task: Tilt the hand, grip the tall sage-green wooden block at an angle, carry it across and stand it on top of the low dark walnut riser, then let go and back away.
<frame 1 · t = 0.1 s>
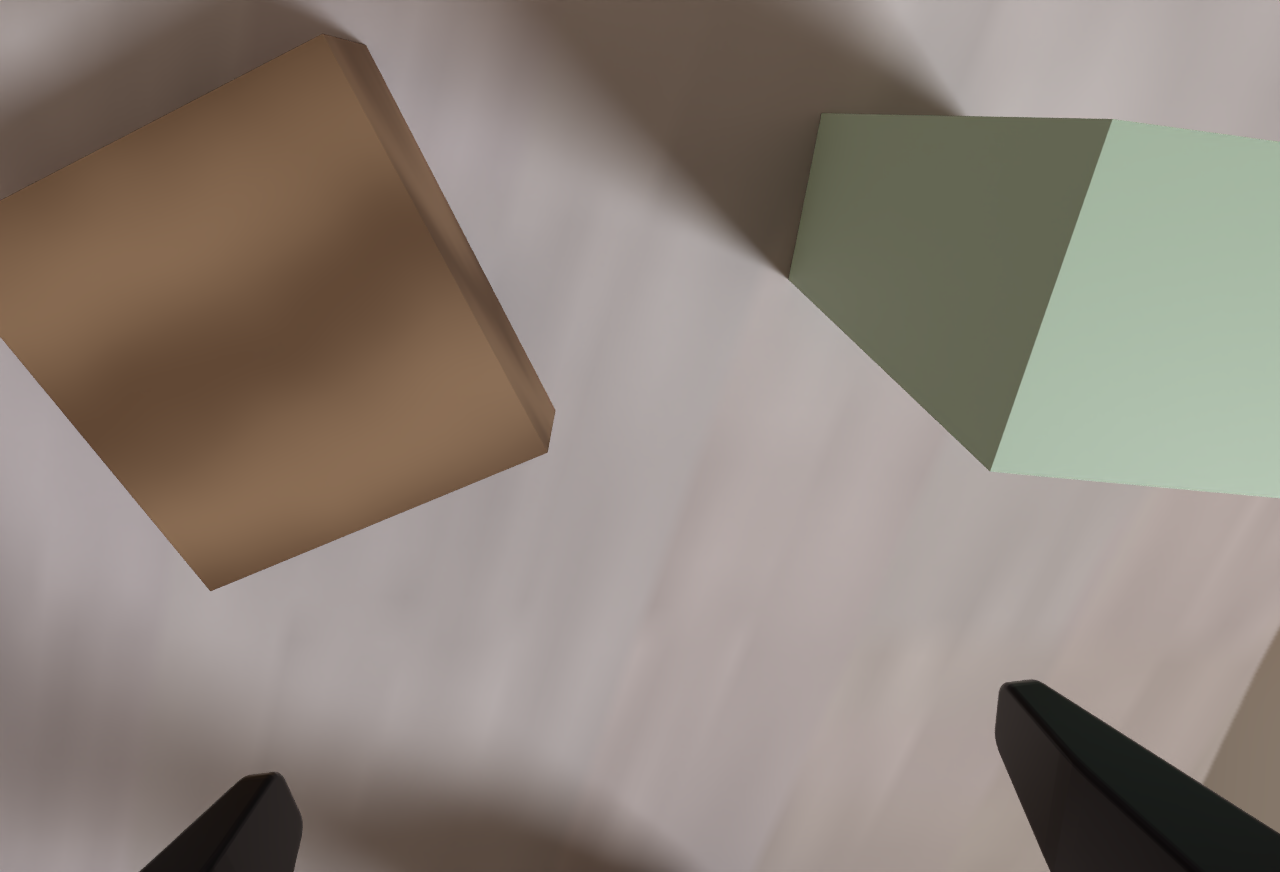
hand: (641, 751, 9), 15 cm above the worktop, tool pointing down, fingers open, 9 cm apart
green block: (881, 209, 21), on the worktop
walnut riser: (309, 319, 22), on the worktop
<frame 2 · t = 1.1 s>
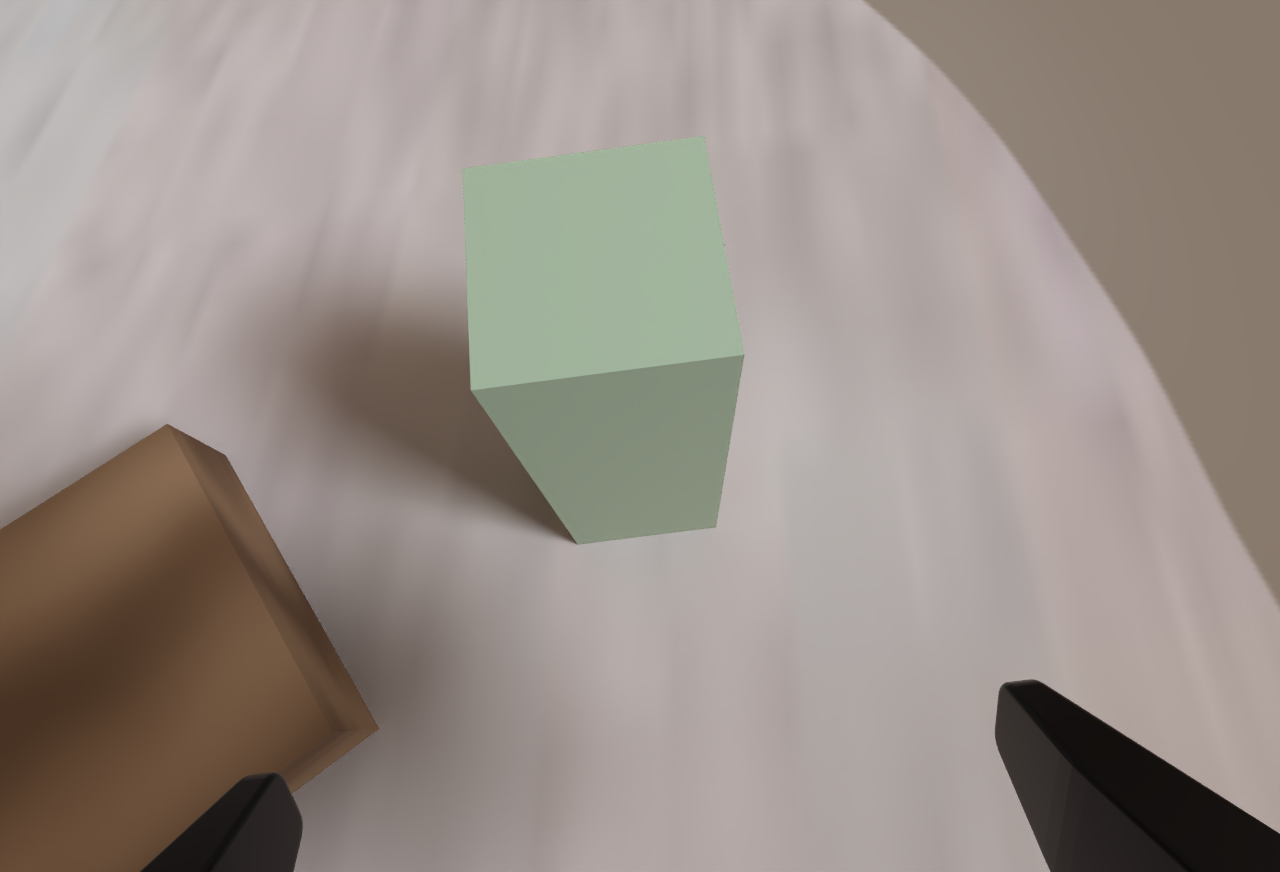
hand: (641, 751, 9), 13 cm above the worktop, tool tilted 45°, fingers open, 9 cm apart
green block: (638, 469, 24), on the worktop
walnut riser: (152, 689, 23), on the worktop
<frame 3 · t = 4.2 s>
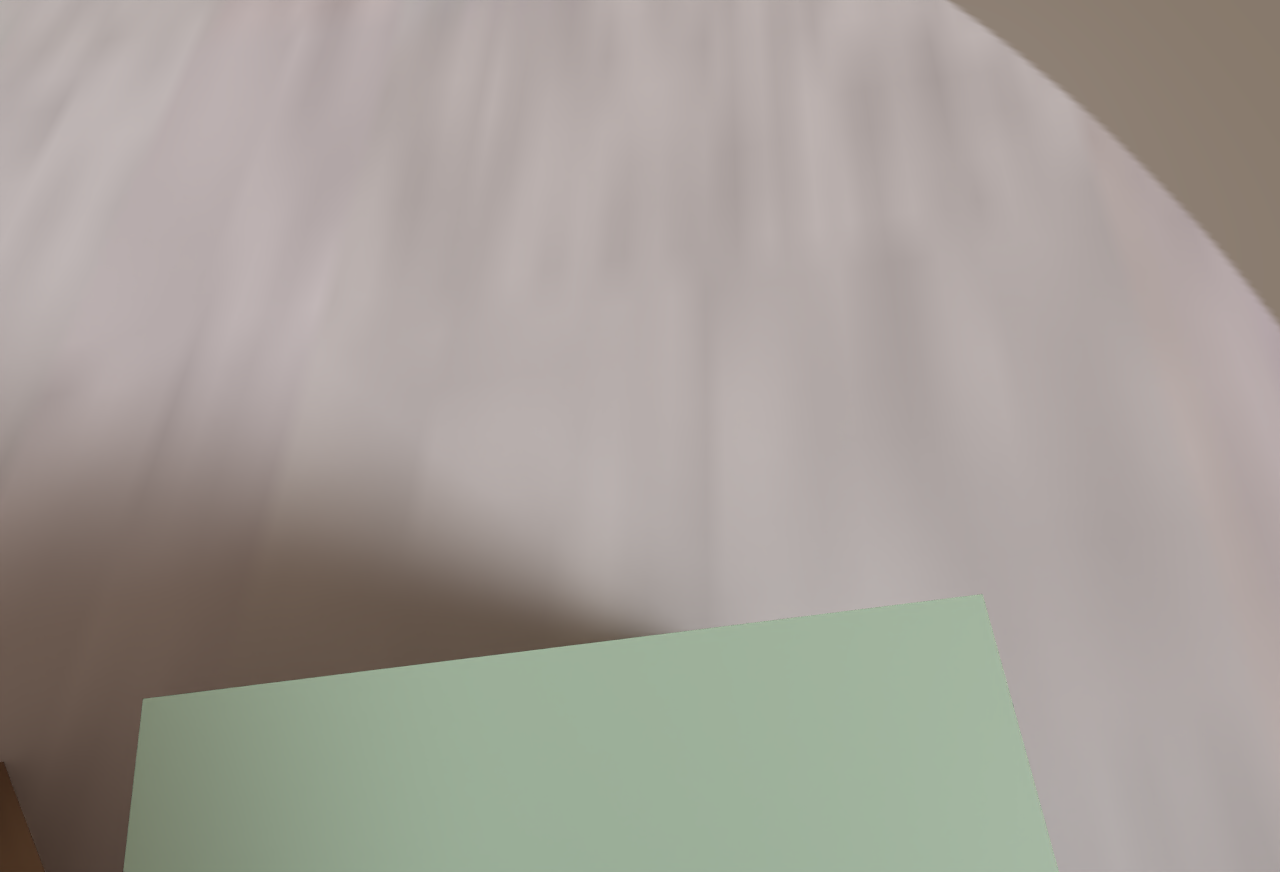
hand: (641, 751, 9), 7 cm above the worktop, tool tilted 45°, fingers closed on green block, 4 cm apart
green block: (668, 806, 15), on the worktop, touching gripper
when the fingers open (11 cm above the worktop, at t = 8.5 s): green block drops 2 cm, resting on walnut riser.
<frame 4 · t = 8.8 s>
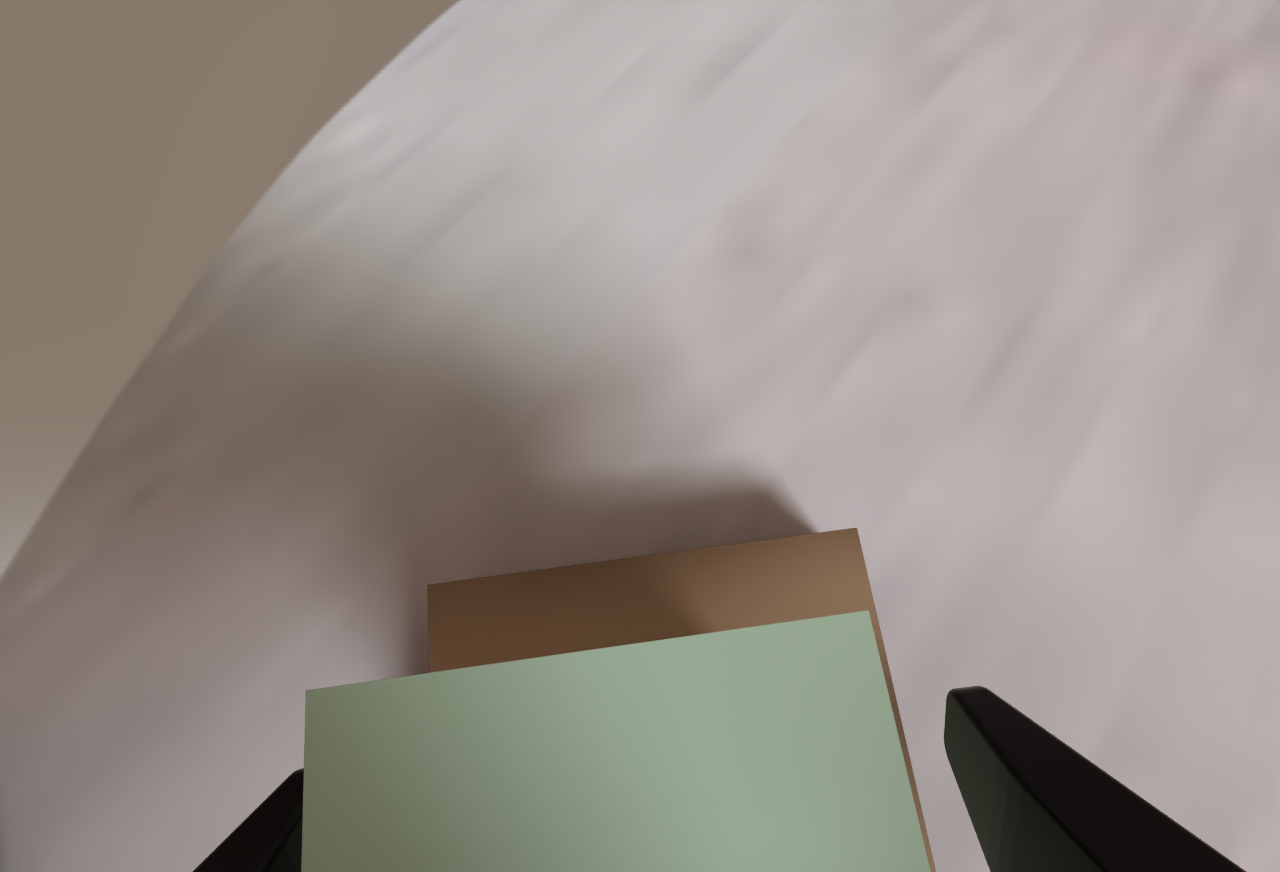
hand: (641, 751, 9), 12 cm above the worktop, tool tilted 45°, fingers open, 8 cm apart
green block: (664, 789, 17), point 3 cm above the worktop, touching walnut riser
walnut riser: (673, 779, 20), on the worktop, touching green block
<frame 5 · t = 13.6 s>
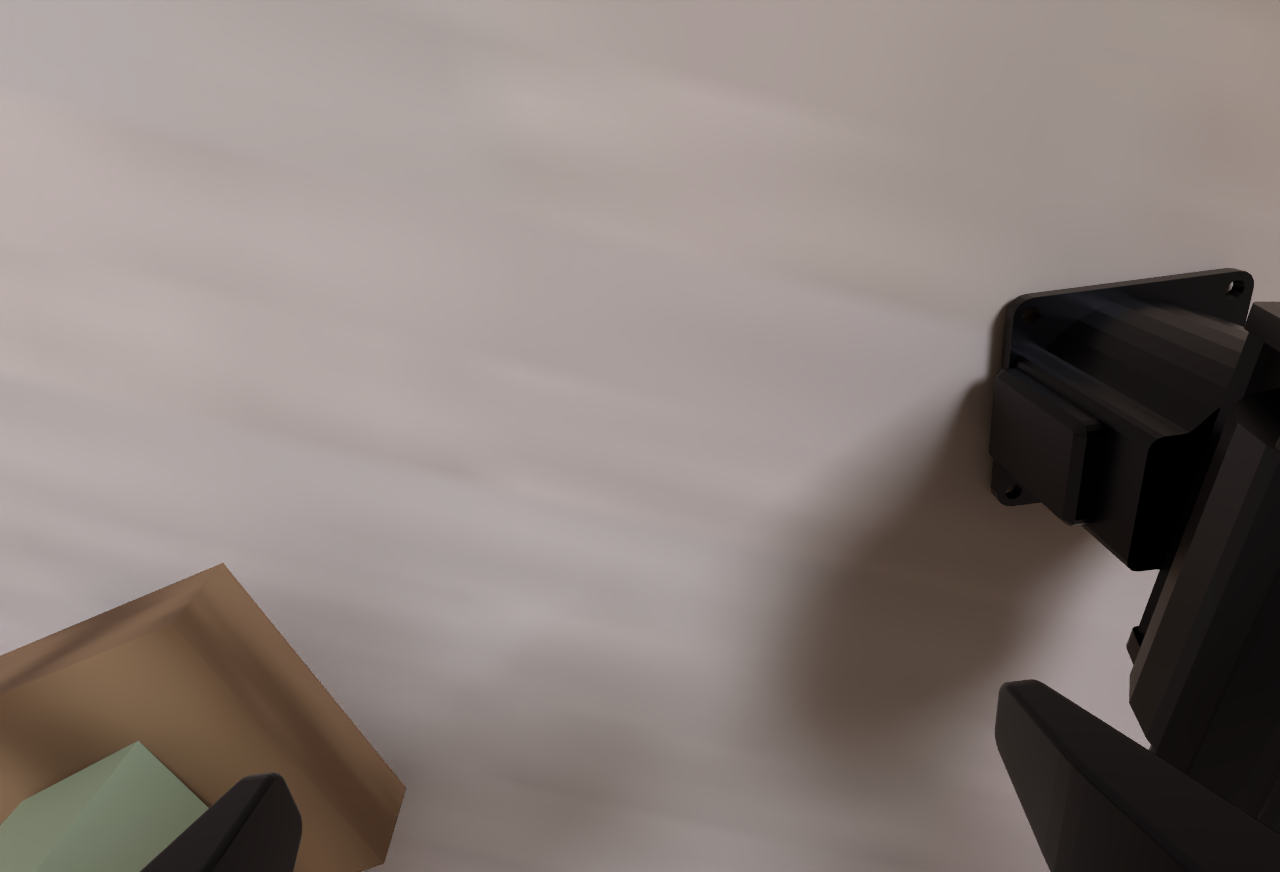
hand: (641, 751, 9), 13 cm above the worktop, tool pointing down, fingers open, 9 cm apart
green block: (132, 818, 23), point 3 cm above the worktop, touching walnut riser
walnut riser: (195, 725, 26), on the worktop, touching green block
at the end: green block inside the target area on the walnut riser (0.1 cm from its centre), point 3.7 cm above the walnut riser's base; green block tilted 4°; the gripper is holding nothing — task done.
